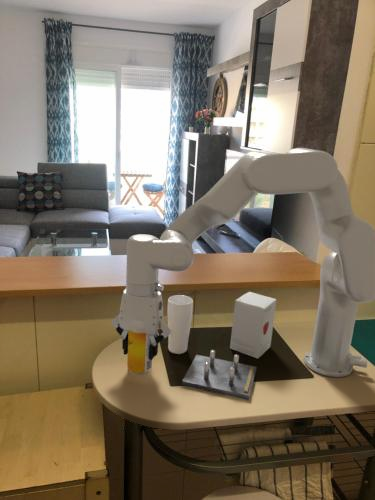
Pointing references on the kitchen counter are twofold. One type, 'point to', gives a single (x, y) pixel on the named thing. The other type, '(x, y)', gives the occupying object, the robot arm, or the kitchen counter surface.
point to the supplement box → (253, 324)
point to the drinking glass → (179, 322)
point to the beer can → (138, 349)
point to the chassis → (220, 376)
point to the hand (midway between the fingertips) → (139, 354)
